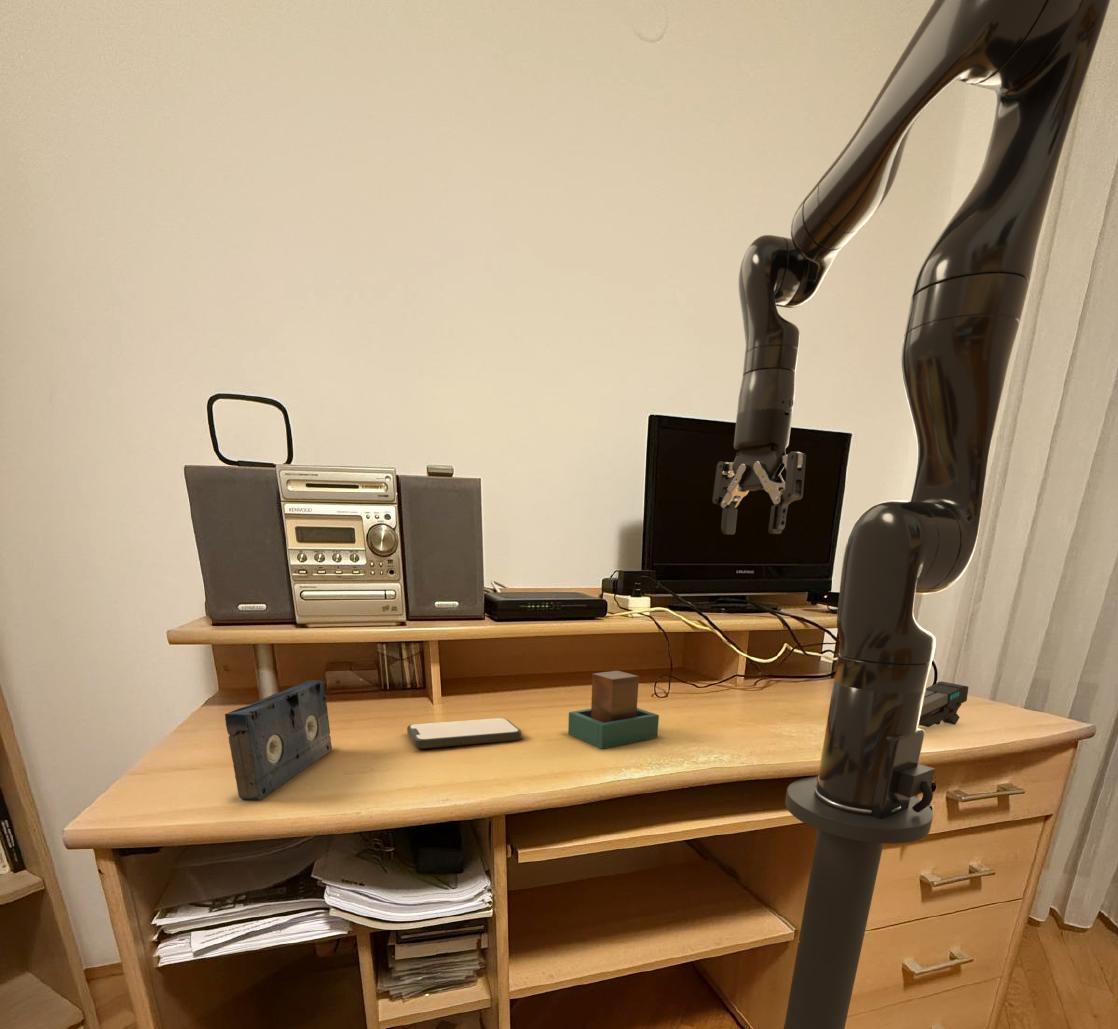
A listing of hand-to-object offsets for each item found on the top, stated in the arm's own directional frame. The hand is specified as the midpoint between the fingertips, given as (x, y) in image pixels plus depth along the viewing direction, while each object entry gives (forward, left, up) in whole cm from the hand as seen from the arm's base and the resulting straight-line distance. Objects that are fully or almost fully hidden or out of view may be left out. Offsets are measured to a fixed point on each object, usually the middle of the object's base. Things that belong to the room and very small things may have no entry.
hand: (750, 534), depth 88 cm
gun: (-18, -25, -30) cm, 43 cm away
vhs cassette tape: (+15, +65, -30) cm, 73 cm away
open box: (+6, +20, -30) cm, 37 cm away
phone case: (+17, +40, -30) cm, 53 cm away
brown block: (+6, +20, -30) cm, 36 cm away
